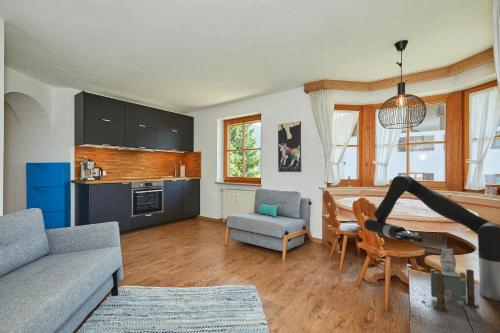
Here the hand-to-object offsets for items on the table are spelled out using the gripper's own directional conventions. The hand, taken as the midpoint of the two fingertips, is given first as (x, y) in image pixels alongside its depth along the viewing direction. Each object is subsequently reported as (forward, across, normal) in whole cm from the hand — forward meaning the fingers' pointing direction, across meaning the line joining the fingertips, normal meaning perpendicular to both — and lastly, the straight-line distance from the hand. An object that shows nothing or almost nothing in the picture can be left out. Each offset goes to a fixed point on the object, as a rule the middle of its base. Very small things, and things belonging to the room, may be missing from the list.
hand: (421, 240), depth 120 cm
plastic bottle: (0, +15, +25) cm, 29 cm away
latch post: (+14, -6, +25) cm, 29 cm away
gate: (+9, +4, +24) cm, 26 cm away
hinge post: (+14, +10, +25) cm, 30 cm away
